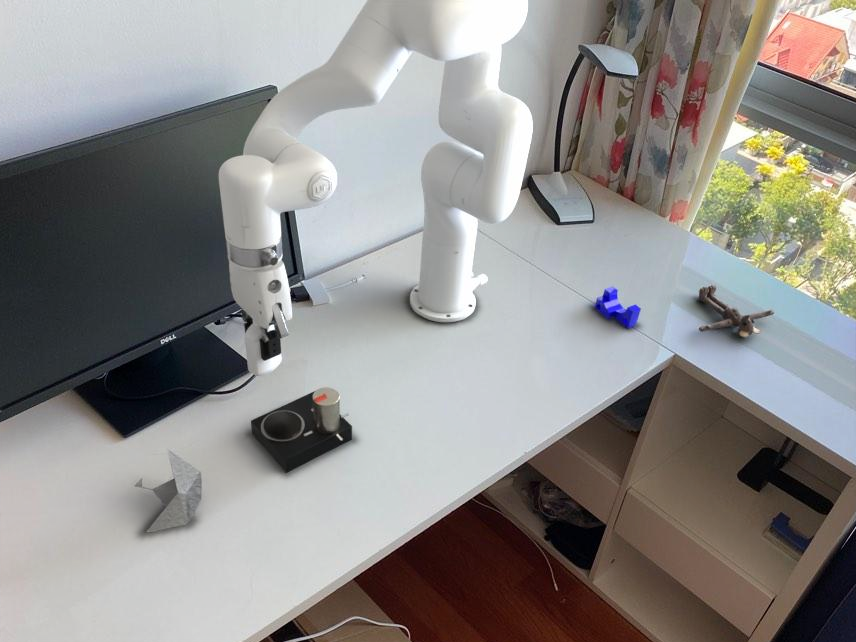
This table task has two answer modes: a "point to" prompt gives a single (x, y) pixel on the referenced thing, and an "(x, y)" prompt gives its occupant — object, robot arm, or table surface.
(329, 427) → the knob
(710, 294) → the brown monkey figure
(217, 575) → the table surface
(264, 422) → the burner
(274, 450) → the hot plate
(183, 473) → the origami crane
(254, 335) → the eye dropper bottle
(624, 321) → the cable holder
